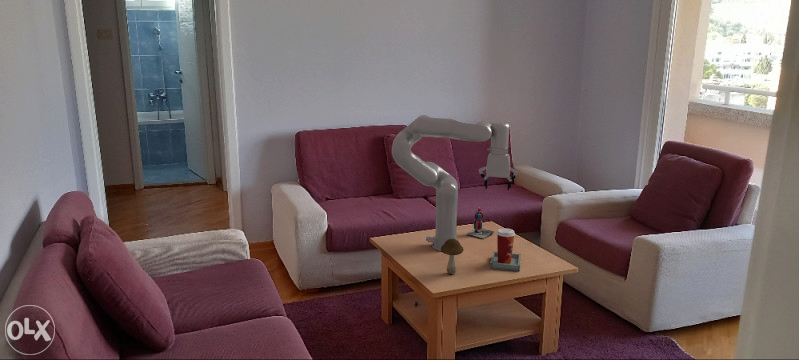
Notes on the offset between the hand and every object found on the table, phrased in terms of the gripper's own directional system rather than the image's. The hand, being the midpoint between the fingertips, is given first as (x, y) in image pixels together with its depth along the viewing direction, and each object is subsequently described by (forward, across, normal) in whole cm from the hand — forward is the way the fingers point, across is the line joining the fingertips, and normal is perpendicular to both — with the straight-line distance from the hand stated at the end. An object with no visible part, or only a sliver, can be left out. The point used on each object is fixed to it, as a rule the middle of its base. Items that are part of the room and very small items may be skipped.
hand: (497, 188), depth 260 cm
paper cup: (+28, +5, -17) cm, 33 cm away
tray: (+28, +6, -17) cm, 34 cm away
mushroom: (+28, -15, -33) cm, 46 cm away
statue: (+29, -8, +19) cm, 35 cm away
